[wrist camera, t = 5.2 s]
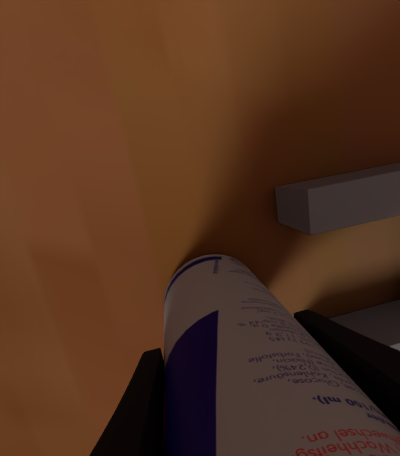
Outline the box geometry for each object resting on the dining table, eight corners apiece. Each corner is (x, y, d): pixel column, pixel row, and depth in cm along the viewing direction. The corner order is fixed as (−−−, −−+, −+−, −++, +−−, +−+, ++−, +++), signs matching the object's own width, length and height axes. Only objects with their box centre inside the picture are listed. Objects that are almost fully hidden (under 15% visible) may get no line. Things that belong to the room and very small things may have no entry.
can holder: (291, 355, 15) (322, 397, 12) (274, 187, 13) (307, 189, 10) (425, 317, 16) (482, 348, 13) (434, 155, 14) (507, 149, 11)
